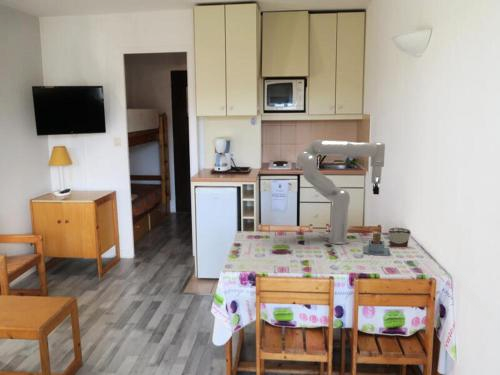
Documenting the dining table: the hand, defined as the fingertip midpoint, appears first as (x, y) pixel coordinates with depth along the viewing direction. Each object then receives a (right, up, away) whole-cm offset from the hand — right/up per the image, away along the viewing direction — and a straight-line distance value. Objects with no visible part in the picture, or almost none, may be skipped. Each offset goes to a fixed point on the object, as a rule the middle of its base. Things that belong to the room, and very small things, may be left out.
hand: (375, 192), depth 256 cm
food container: (+10, -30, -8) cm, 33 cm away
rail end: (-5, -31, -18) cm, 36 cm away
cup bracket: (-5, -32, -18) cm, 37 cm away
